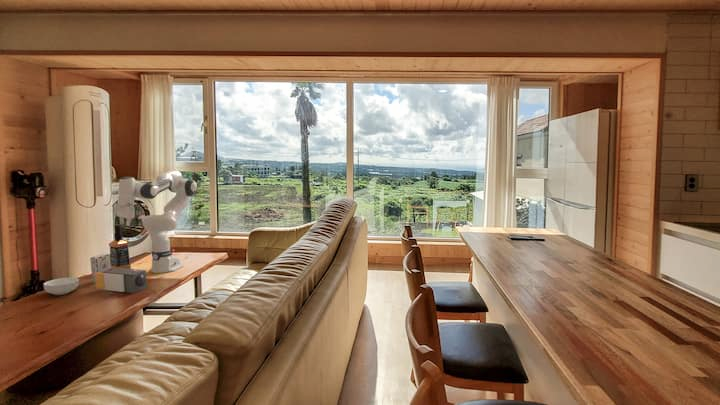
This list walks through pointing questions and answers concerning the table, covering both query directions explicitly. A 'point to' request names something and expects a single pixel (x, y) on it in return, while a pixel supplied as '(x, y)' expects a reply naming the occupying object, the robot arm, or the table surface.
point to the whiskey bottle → (119, 251)
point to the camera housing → (132, 279)
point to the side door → (110, 281)
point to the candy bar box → (100, 264)
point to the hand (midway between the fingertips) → (124, 224)
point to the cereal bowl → (61, 285)
